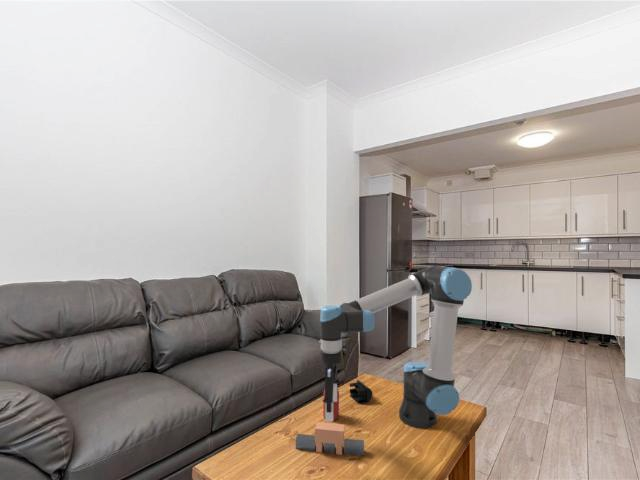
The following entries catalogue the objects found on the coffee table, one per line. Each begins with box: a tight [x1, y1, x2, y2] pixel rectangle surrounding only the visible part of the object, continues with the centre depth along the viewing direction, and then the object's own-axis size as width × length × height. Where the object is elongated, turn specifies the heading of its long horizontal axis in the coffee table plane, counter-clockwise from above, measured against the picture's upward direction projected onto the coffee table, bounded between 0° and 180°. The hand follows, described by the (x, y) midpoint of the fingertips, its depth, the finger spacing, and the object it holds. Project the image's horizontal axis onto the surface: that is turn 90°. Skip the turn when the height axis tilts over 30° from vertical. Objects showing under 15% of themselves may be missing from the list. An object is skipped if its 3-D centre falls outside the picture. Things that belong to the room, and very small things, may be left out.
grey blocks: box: [295, 433, 365, 457], centre depth 116 cm, size 24×3×4 cm, turn 82°
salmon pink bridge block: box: [314, 421, 346, 456], centre depth 116 cm, size 10×4×8 cm, turn 82°
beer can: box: [322, 387, 340, 421], centre depth 138 cm, size 7×7×12 cm
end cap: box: [349, 380, 373, 405], centre depth 155 cm, size 10×7×7 cm
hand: (331, 410), depth 116 cm, fingers open, 13 cm apart
